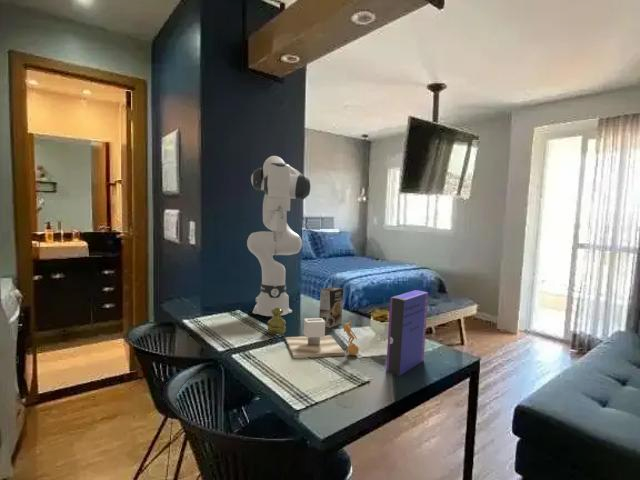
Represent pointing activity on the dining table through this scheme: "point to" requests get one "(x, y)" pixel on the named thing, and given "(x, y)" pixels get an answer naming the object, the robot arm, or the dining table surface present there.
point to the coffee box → (331, 306)
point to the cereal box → (406, 331)
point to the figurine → (352, 347)
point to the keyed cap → (314, 327)
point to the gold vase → (276, 322)
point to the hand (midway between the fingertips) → (277, 242)
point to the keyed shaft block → (314, 347)
